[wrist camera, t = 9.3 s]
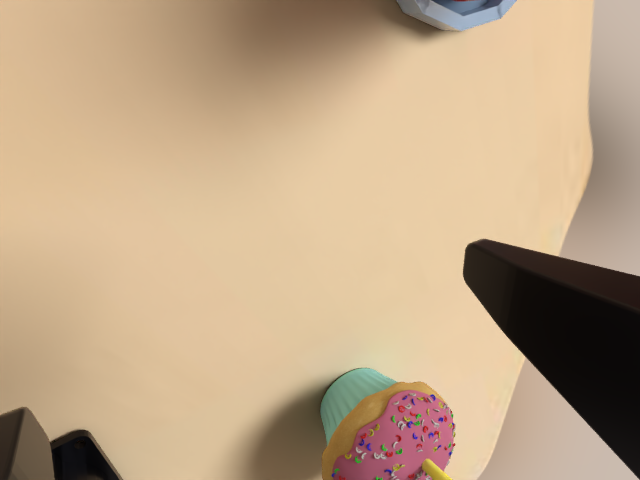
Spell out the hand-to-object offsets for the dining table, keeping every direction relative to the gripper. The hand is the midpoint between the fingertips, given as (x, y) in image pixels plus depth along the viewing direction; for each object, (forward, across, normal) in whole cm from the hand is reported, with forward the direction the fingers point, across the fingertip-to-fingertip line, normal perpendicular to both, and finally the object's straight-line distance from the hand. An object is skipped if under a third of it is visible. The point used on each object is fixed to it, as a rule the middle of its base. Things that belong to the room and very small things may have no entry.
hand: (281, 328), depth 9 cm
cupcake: (+12, -7, +20) cm, 24 cm away
